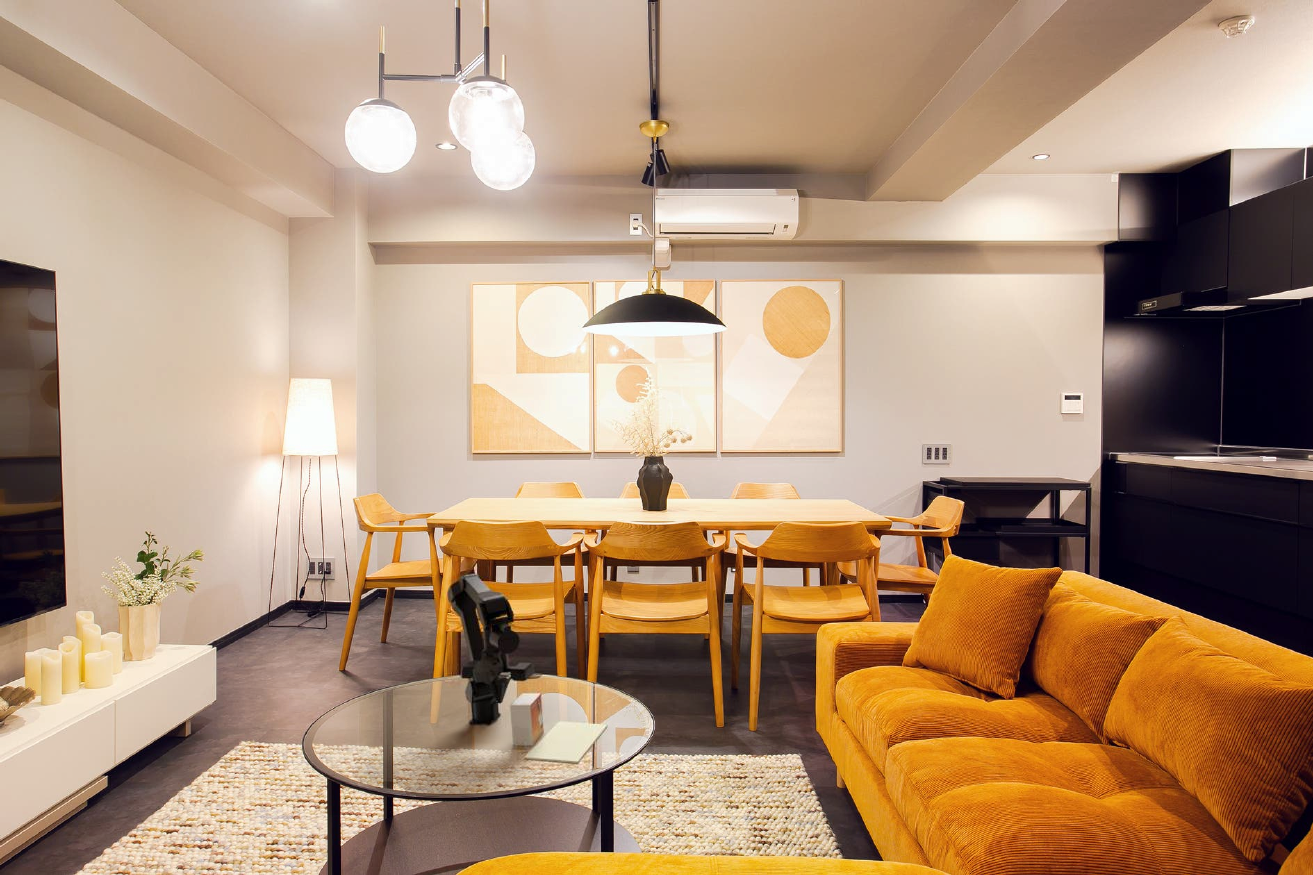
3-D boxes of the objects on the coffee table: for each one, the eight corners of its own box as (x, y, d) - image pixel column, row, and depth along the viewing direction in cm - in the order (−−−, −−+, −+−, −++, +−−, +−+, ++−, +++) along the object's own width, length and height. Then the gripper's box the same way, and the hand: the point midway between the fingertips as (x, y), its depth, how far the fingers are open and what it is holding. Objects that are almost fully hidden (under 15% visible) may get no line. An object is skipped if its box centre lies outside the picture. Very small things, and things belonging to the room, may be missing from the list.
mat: (524, 758, 173) (524, 756, 173) (559, 722, 193) (559, 721, 193) (577, 763, 169) (577, 761, 169) (607, 726, 189) (607, 724, 189)
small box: (533, 746, 180) (530, 705, 179) (512, 745, 181) (509, 705, 181) (544, 732, 188) (541, 692, 187) (524, 731, 189) (521, 692, 188)
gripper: (446, 653, 181) (451, 713, 181) (512, 655, 175) (517, 718, 176) (470, 639, 191) (474, 696, 192) (533, 641, 186) (537, 699, 186)
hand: (500, 702), depth 186 cm, fingers closed
